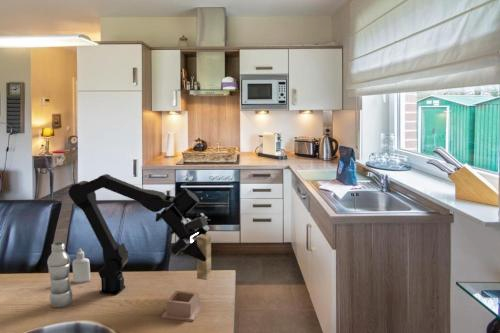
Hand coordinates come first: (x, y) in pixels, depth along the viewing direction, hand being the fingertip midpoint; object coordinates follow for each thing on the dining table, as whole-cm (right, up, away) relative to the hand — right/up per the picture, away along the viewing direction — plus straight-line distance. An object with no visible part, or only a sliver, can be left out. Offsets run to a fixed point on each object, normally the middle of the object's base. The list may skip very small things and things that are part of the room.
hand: (207, 258), depth 134 cm
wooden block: (-1, -6, +1) cm, 7 cm away
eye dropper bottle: (-47, -11, +14) cm, 50 cm away
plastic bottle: (-46, -14, -5) cm, 48 cm away
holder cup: (-7, -14, -9) cm, 18 cm away
